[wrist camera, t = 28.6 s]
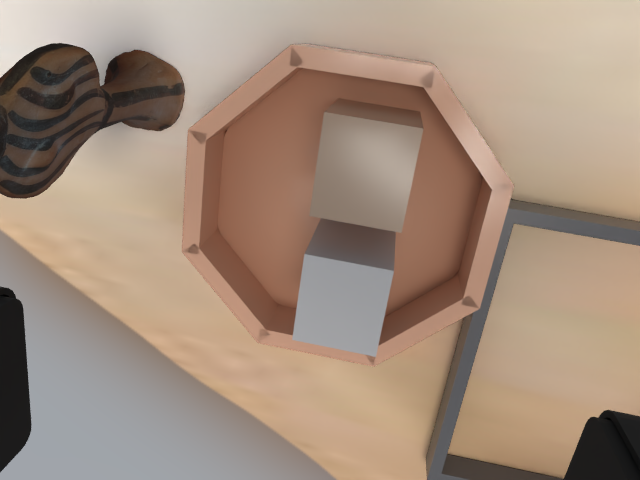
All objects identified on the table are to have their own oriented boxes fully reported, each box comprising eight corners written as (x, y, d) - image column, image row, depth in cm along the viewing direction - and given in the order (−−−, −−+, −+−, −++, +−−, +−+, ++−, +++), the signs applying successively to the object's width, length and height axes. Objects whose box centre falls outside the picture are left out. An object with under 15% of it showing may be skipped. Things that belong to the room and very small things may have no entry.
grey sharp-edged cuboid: (395, 230, 32) (394, 270, 27) (380, 304, 34) (375, 356, 28) (321, 217, 33) (304, 254, 27) (310, 290, 34) (292, 339, 29)
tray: (761, 242, 30) (784, 256, 28) (637, 504, 37) (649, 528, 35) (497, 197, 31) (502, 207, 30) (425, 458, 39) (427, 480, 37)
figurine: (156, 171, 34) (-84, 301, 17) (85, 132, 34) (-228, 225, 17) (201, 62, 31) (-32, 91, 15) (124, 18, 31) (-203, -4, 14)
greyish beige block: (420, 111, 30) (423, 128, 24) (402, 198, 31) (401, 232, 26) (339, 98, 30) (324, 112, 24) (326, 184, 32) (309, 215, 26)
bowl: (525, 77, 29) (543, 83, 25) (452, 347, 35) (458, 383, 31) (218, 30, 30) (192, 29, 27) (201, 297, 37) (178, 326, 33)
